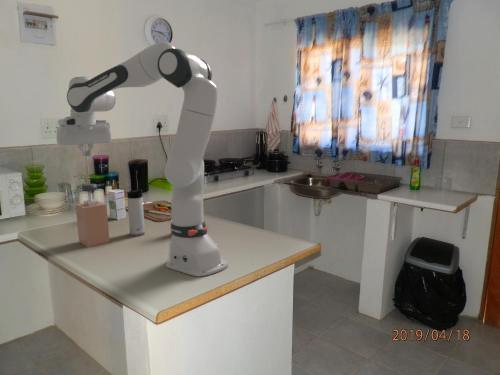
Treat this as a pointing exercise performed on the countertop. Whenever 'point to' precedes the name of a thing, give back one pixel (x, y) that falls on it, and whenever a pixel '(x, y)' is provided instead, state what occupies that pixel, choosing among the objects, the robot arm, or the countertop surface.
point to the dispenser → (92, 223)
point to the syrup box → (117, 204)
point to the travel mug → (136, 212)
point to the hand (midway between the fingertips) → (86, 155)
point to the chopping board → (157, 211)
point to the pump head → (89, 189)
